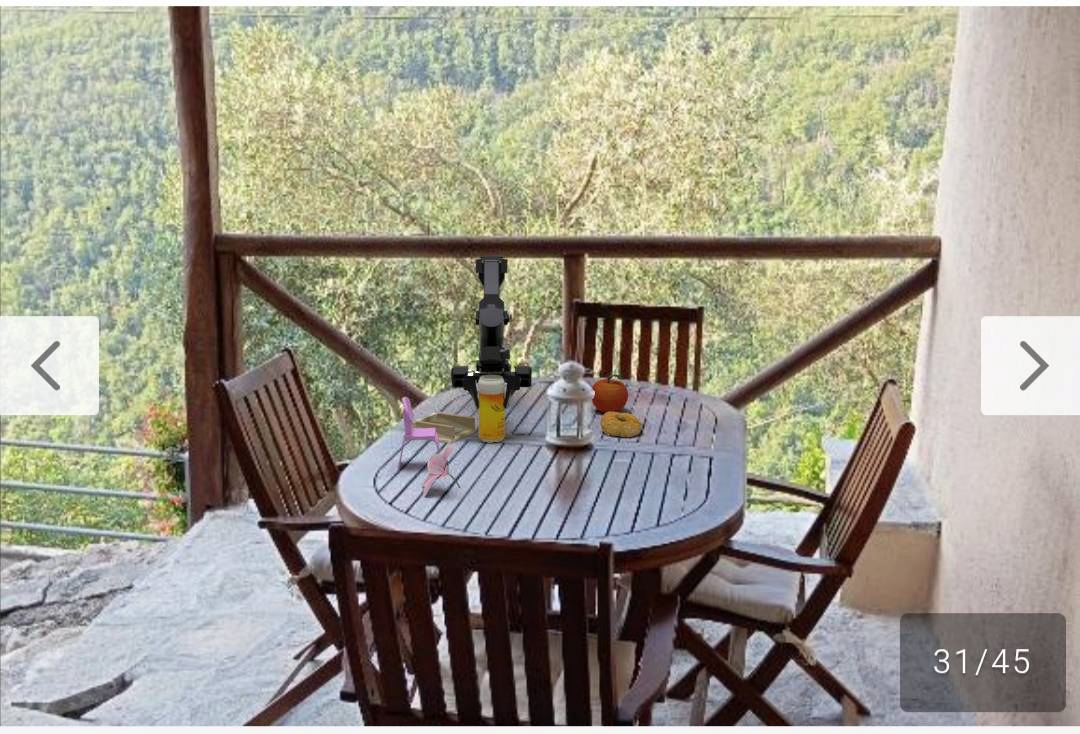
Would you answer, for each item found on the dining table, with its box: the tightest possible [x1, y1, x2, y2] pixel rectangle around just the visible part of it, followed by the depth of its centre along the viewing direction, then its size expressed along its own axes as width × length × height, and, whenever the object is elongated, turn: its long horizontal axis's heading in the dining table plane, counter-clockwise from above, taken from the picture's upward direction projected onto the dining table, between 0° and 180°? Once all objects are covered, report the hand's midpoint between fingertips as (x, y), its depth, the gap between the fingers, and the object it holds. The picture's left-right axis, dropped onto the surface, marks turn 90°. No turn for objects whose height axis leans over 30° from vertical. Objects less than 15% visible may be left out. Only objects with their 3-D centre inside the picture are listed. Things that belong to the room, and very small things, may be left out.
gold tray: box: [411, 410, 478, 444], centre depth 254 cm, size 12×12×4 cm
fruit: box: [591, 373, 629, 414], centre depth 274 cm, size 10×10×10 cm
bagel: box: [599, 412, 643, 438], centre depth 256 cm, size 10×11×5 cm
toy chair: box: [397, 396, 440, 471], centre depth 229 cm, size 8×9×15 cm
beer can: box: [477, 375, 506, 444], centre depth 248 cm, size 6×6×15 cm
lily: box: [421, 442, 461, 498], centre depth 214 cm, size 12×12×10 cm
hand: (491, 407), depth 247 cm, fingers closed on beer can, 6 cm apart
